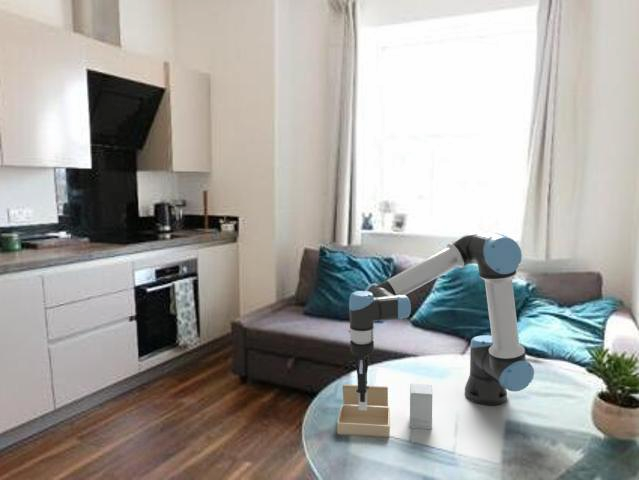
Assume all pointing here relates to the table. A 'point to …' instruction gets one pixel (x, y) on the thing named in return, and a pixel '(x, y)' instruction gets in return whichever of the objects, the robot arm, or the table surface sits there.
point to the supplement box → (421, 406)
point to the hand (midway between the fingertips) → (362, 409)
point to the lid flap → (374, 395)
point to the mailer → (364, 421)
